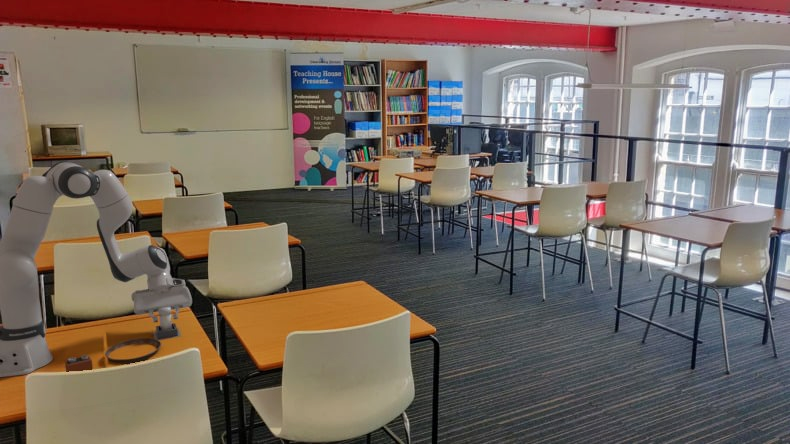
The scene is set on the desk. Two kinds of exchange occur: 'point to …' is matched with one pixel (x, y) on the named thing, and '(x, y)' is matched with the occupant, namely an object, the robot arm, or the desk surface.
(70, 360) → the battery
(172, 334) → the dark grey square tray
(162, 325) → the cylinder
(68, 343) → the desk surface
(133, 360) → the dark grey ring
